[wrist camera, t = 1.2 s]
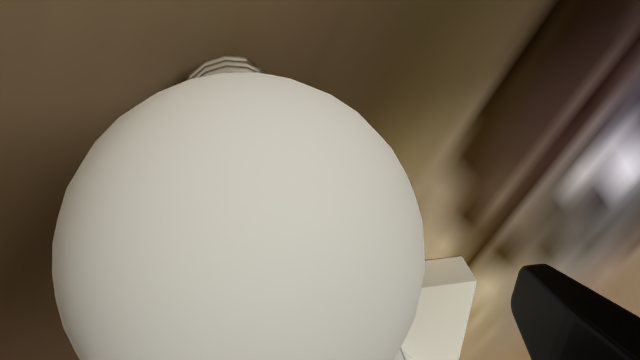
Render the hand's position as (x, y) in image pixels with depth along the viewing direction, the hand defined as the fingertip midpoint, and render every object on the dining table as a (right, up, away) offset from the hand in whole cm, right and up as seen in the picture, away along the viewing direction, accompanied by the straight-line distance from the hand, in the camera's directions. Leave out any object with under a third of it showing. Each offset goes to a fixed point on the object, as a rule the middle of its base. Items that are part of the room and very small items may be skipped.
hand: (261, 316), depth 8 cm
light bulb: (-2, +5, +8) cm, 10 cm away
